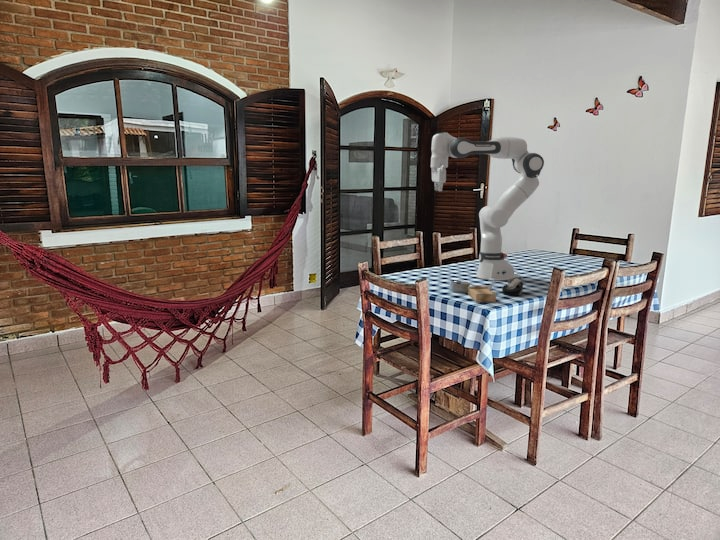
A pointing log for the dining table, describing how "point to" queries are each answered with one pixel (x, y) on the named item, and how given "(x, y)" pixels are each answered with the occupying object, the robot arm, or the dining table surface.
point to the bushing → (489, 287)
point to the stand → (481, 294)
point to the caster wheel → (513, 287)
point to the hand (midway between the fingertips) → (438, 190)
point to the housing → (459, 286)
